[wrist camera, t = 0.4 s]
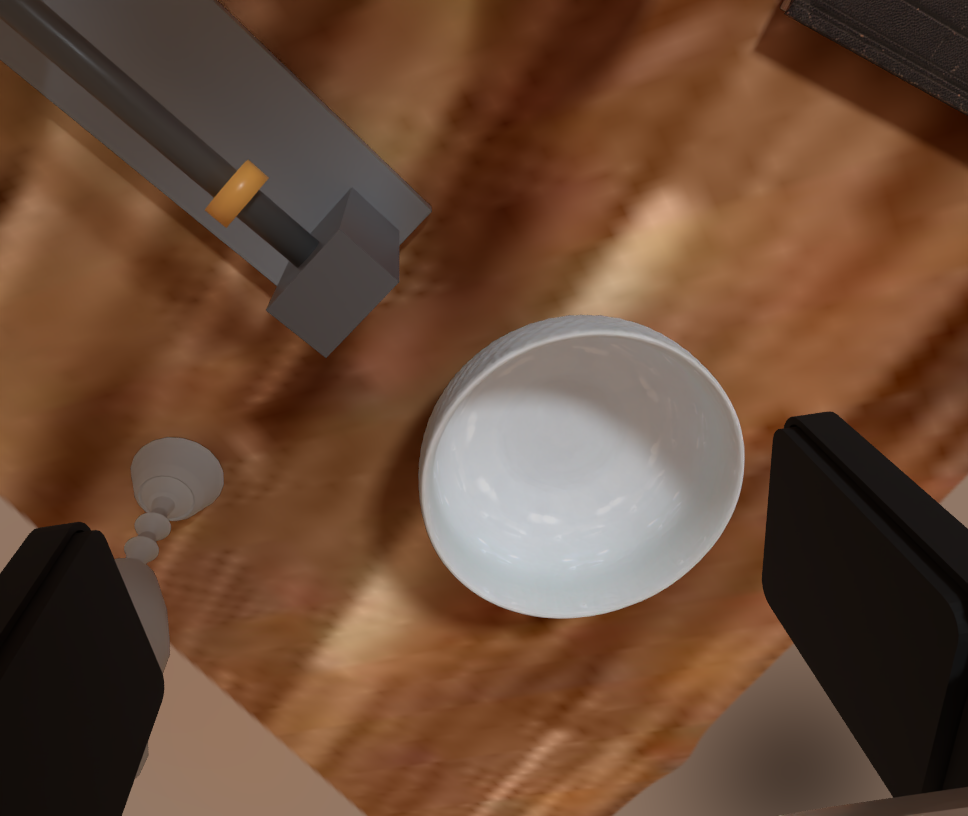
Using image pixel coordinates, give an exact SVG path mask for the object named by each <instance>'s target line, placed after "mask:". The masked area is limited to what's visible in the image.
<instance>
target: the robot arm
mask: <svg viewBox="0 0 968 816" xmlns="http://www.w3.org/2000/svg"><path fill="white" fill-rule="evenodd" d="M762 585H763V590H764V594H765V597H766V600H767V602H768V604H769V605H770V607H771V609H772V610H773V612H774V613H775V615H776V616H777V618H778V619H779V621H780V623H781V624H782V626H783V627H784V629H785V630H786V632H787V633H788V635H789V636H790V638H791V640H792V641H793V643H794V644H795V646H796V647H797V649H798V650H799V652H800V654H801V655H802V657H803V658H804V660H805V661H806V663H807V664H808V666H809V667H810V669H811V671H812V672H813V674H814V675H815V677H816V678H817V680H818V681H819V683H820V684H821V686H822V687H823V689H824V691H825V692H826V694H827V695H828V697H829V698H830V700H831V702H832V703H833V705H834V706H835V708H836V709H837V711H838V712H839V714H840V715H841V717H842V719H843V720H844V722H845V723H846V725H847V726H848V728H849V729H850V731H851V733H852V734H853V735H854V737H855V739H856V740H857V742H858V743H859V745H860V746H861V748H862V750H863V751H864V753H865V754H866V756H867V757H868V759H869V760H870V762H871V764H872V765H873V767H874V768H875V770H876V771H877V773H878V774H879V776H880V777H881V779H882V781H883V782H884V784H885V785H886V787H887V788H888V790H889V791H890V793H891V795H892V796H893V798H888V799H881V800H874V801H867V802H861V803H854V804H847V805H841V806H834V807H828V808H822V809H815V810H810V811H803V812H798V813H791V814H785V815H779V816H968V529H967V528H966V527H965V526H964V525H963V524H962V523H960V522H959V521H958V520H957V519H956V518H955V517H954V516H952V515H951V514H950V513H949V512H948V511H947V510H945V509H944V508H943V507H942V506H941V505H940V504H939V503H938V502H936V501H935V500H934V499H933V498H932V497H931V496H930V495H928V494H927V493H926V492H925V491H924V490H923V489H922V488H920V487H919V486H918V485H917V484H916V483H915V482H914V481H912V480H911V479H910V478H909V477H908V476H907V475H906V474H904V473H903V472H902V471H901V470H900V469H899V468H898V467H896V466H895V465H894V464H893V463H892V462H891V461H890V460H888V459H887V458H886V457H885V456H884V455H883V454H882V453H880V452H879V451H878V450H877V449H876V448H875V447H874V446H872V445H871V444H870V443H869V442H868V441H867V440H866V439H864V438H863V437H862V436H861V435H860V434H859V433H858V432H856V431H855V430H854V429H853V428H852V427H851V426H850V425H848V424H847V423H846V422H845V421H844V420H843V419H842V418H840V417H839V416H838V415H837V414H835V413H834V412H822V413H815V414H808V415H802V416H795V417H790V418H789V419H788V420H787V421H786V423H785V425H784V428H783V429H778V430H777V431H776V432H775V434H774V437H773V445H772V458H771V470H770V483H769V496H768V508H767V521H766V533H765V546H764V559H763V571H762ZM163 694H164V679H163V674H162V670H161V668H160V666H159V663H158V661H157V659H156V656H155V654H154V652H153V649H152V647H151V644H150V642H149V640H148V637H147V635H146V633H145V630H144V628H143V626H142V623H141V621H140V618H139V616H138V614H137V611H136V609H135V607H134V604H133V602H132V600H131V597H130V595H129V593H128V590H127V588H126V585H125V583H124V581H123V578H122V576H121V574H120V571H119V569H118V567H117V564H116V562H115V559H114V557H113V555H112V552H111V550H110V548H109V545H108V543H107V541H106V539H105V537H104V535H103V534H102V533H101V532H100V531H97V530H94V531H91V530H90V528H89V527H88V526H87V525H86V524H85V523H82V522H75V523H68V524H62V525H55V526H48V527H41V528H37V529H34V530H33V531H32V532H31V533H30V534H29V535H28V537H27V538H26V539H25V541H24V542H23V543H22V545H21V546H20V547H19V549H18V550H17V552H16V553H15V554H14V556H13V557H12V558H11V560H10V561H9V562H8V564H7V565H6V567H5V568H4V569H3V571H2V572H1V573H0V816H122V813H123V810H124V808H125V805H126V802H127V799H128V796H129V793H130V791H131V788H132V785H133V782H134V779H135V776H136V774H137V771H138V768H139V765H140V762H141V759H142V757H143V754H144V751H145V748H146V745H147V742H148V739H149V736H150V734H151V731H152V728H153V725H154V723H155V720H156V717H157V714H158V711H159V708H160V705H161V703H162V699H163Z"/></svg>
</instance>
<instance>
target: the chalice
mask: <svg viewBox="0 0 968 816" xmlns="http://www.w3.org/2000/svg"><path fill="white" fill-rule="evenodd" d="M131 478H132V482H133V489H134V496H135V498H136V500H137V502H138V504H139V506H140V507H141V508H142V509H143V510H144V511H145V512H146V513H145V514H142V515H141V516H139V517H138V518H137V519H136V522H135V530H136V532H137V534H138V536H137V537H133V538H131V539H129V540H128V541H127V542H126V544H125V546H124V551H125V554H126V558H117V559H115V562H116V564H117V567H118V569H119V571H120V574H121V576H122V578H123V581H124V583H125V585H126V588H127V590H128V593H129V595H130V597H131V600H132V602H133V604H134V607H135V609H136V611H137V614H138V616H139V618H140V621H141V623H142V626H143V628H144V630H145V633H146V635H147V637H148V640H149V642H150V644H151V647H152V649H153V652H154V654H155V656H156V659H157V661H158V663H159V666H160V668H161V670H162V674H163V672H164V669H165V666H166V664H167V661H168V658H169V655H170V639H169V627H168V616H167V608H166V605H165V602H164V599H163V596H162V593H161V590H160V586H159V583H158V580H157V578H156V576H155V573H154V571H153V570H152V569H151V568H150V567H149V566H148V565H146V564H147V563H148V562H150V561H152V560H154V559H155V558H156V557H157V556H158V553H159V547H158V545H157V543H156V541H158V540H162V539H164V538H165V537H167V536H168V535H169V533H170V531H171V524H170V522H169V521H179V520H184V519H187V518H189V517H191V516H193V515H195V514H196V513H197V512H199V511H201V510H202V509H204V508H205V507H207V506H209V505H210V504H212V503H213V502H214V501H215V500H216V498H217V497H218V496H219V495H220V493H221V490H222V487H223V485H224V478H223V470H222V468H221V466H220V463H219V461H218V460H217V459H216V457H215V456H214V455H213V454H212V453H211V452H210V451H209V450H208V449H206V448H205V447H203V446H202V445H200V444H198V443H197V442H193V441H190V440H187V439H184V438H171V437H167V438H163V439H158V440H154V441H152V442H150V443H148V444H147V445H145V446H143V447H142V448H141V449H140V450H139V451H138V453H137V454H136V455H135V456H134V459H133V462H132V465H131ZM147 757H148V742H147V745H146V748H145V751H144V754H143V757H142V759H141V762H140V765H139V768H138V771H137V774H136V776H135V778H136V777H137V776H139V774H140V772H141V770H142V768H143V766H144V763H145V761H146V759H147Z"/></svg>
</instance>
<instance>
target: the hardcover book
mask: <svg viewBox="0 0 968 816" xmlns="http://www.w3.org/2000/svg"><path fill="white" fill-rule="evenodd" d="M780 9H782V10H784V11H785V13H784V14H785V15H787V16H789V17H791V18H792V19H794V20H796V21H798V22H800V23H801V24H803V25H805V26H807V27H809V28H810V29H812V30H814V31H816V32H818V33H819V34H821V35H823V36H825V37H827V38H828V39H830V40H832V41H834V42H836V43H837V44H839V45H841V46H843V47H845V48H846V49H848V50H850V51H852V52H854V53H855V54H857V55H859V56H861V57H863V58H864V59H866V60H868V61H870V62H872V63H873V64H875V65H877V66H879V67H881V68H882V69H884V70H886V71H888V72H890V73H891V74H893V75H895V76H897V77H899V78H900V79H902V80H904V81H906V82H908V83H909V84H911V85H913V86H915V87H917V88H918V89H920V90H922V91H924V92H926V93H927V94H929V95H931V96H933V97H935V98H936V99H938V100H940V101H942V102H944V103H945V104H947V105H949V106H951V107H953V108H954V109H956V110H958V111H960V112H962V113H963V114H965V115H967V116H968V0H784V1H783V3H782V5H781V7H780Z"/></svg>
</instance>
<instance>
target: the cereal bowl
mask: <svg viewBox="0 0 968 816" xmlns="http://www.w3.org/2000/svg"><path fill="white" fill-rule="evenodd" d="M420 453H421V454H420V459H419V472H418V474H419V475H418V479H419V498H420V505H421V511H422V516H423V519H424V523H425V527H426V530H427V533H428V536H429V538H430V541H431V543H432V545H433V547H434V549H435V551H436V553H437V554H438V556H439V558H440V559H441V561H442V562H443V563H444V565H445V566H446V567H447V568H448V570H449V571H450V572H451V573H452V574H453V575H454V576H455V577H456V578H457V579H458V580H459V581H460V582H461V583H462V584H463V585H465V586H466V587H467V588H468V589H470V590H471V591H473V592H474V593H475V594H477V595H478V596H480V597H482V598H483V599H485V600H487V601H489V602H491V603H493V604H495V605H497V606H499V607H502V608H505V609H507V610H510V611H513V612H517V613H521V614H525V615H530V616H535V617H543V618H579V617H588V616H594V615H599V614H604V613H608V612H611V611H615V610H619V609H622V608H624V607H627V606H630V605H633V604H635V603H638V602H641V601H643V600H645V599H647V598H649V597H651V596H653V595H655V594H657V593H659V592H660V591H662V590H664V589H665V588H667V587H668V586H670V585H671V584H673V583H674V582H676V581H677V580H678V579H680V578H681V577H682V576H683V575H685V574H686V573H687V572H688V571H689V570H690V569H692V568H693V567H694V566H695V565H696V564H697V563H698V562H699V561H700V560H701V559H702V558H703V557H704V556H705V554H706V553H707V552H708V551H709V550H710V549H711V548H712V546H713V545H714V544H715V542H716V541H717V540H718V538H719V537H720V536H721V534H722V532H723V531H724V529H725V527H726V525H727V523H728V522H729V520H730V518H731V516H732V514H733V511H734V509H735V506H736V503H737V501H738V498H739V494H740V491H741V487H742V480H743V474H744V443H743V436H742V431H741V427H740V423H739V420H738V417H737V415H736V412H735V410H734V408H733V405H732V403H731V402H730V400H729V398H728V396H727V395H726V393H725V391H724V390H723V389H722V387H721V386H720V384H719V383H718V381H717V380H716V379H715V378H714V377H713V376H712V375H711V373H710V372H709V371H708V369H706V368H705V367H704V366H703V365H702V364H701V363H700V362H699V361H698V360H697V359H696V358H695V357H693V356H692V355H691V354H690V352H688V351H687V350H685V349H684V348H682V347H681V346H680V345H679V344H678V343H676V342H674V341H673V340H671V339H669V338H668V337H666V336H664V335H663V334H661V333H659V332H656V331H654V330H652V329H650V328H649V327H645V326H643V325H640V324H638V323H634V322H632V321H626V320H623V319H620V318H612V317H607V316H602V315H597V316H592V315H576V316H574V315H568V316H564V317H557V318H549V319H546V320H544V321H539V322H536V323H532V324H528V325H526V326H524V327H522V328H519V329H517V330H515V331H512V332H509V333H508V334H506V335H505V336H503V337H501V338H499V339H498V340H496V341H493V342H492V343H491V344H490V345H488V346H487V347H486V348H484V349H482V350H481V351H480V352H479V353H477V354H476V355H475V356H474V357H473V358H472V359H471V360H469V361H468V362H467V364H465V365H464V366H463V367H462V368H461V370H460V371H459V372H458V373H457V374H455V376H454V378H453V379H452V380H451V381H450V383H449V385H448V386H447V387H446V388H445V389H444V391H443V394H442V395H441V396H440V398H439V400H438V401H437V404H436V405H435V406H434V409H433V412H432V415H431V416H430V418H429V421H428V423H427V428H426V431H425V433H424V437H423V442H422V445H421V450H420Z"/></svg>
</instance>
